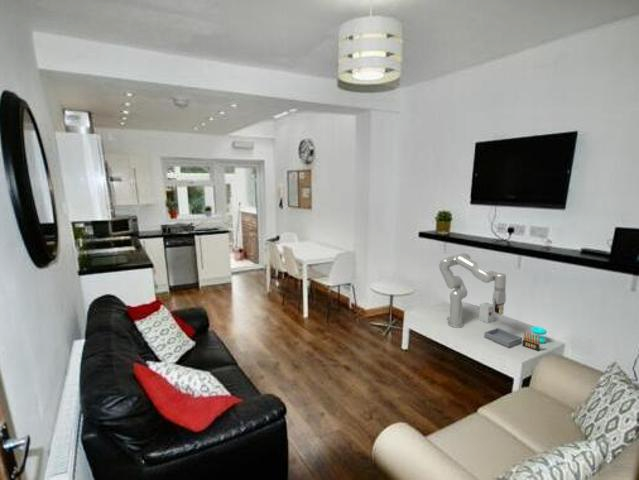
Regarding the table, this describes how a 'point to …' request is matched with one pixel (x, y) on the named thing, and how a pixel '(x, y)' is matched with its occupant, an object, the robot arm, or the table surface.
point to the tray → (503, 337)
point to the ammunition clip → (531, 341)
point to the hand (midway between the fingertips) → (498, 311)
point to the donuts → (539, 333)
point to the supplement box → (486, 312)
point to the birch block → (500, 309)
